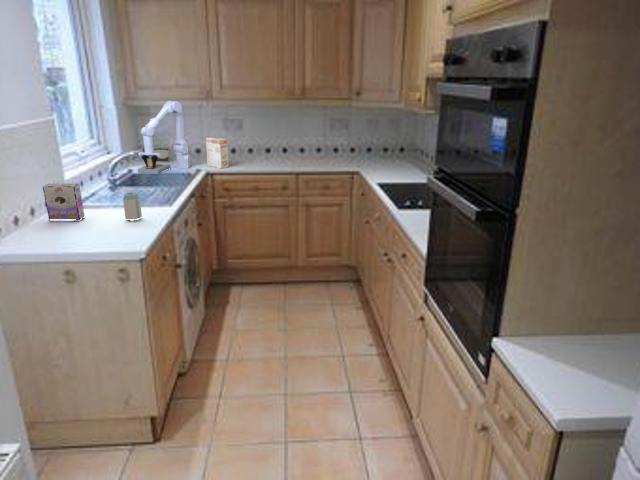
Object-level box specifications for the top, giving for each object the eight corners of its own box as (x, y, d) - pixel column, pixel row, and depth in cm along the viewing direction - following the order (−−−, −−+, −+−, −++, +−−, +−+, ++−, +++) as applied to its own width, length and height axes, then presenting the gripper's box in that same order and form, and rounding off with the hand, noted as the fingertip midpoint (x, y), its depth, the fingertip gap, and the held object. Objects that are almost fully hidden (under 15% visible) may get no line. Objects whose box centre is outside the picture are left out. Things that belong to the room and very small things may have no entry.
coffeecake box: (229, 167, 337) (227, 138, 330) (221, 168, 331) (219, 139, 325) (215, 164, 346) (213, 136, 339) (207, 165, 340) (205, 137, 334)
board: (170, 168, 330) (170, 164, 329) (158, 173, 314) (157, 169, 313) (151, 167, 332) (150, 163, 331) (138, 172, 315) (137, 169, 315)
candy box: (85, 218, 223) (80, 182, 217) (80, 222, 217) (74, 186, 212) (54, 218, 222) (48, 182, 217) (48, 221, 217) (41, 185, 211)
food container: (173, 160, 357) (172, 146, 354) (170, 162, 351) (169, 148, 348) (157, 160, 358) (156, 146, 355) (154, 161, 353) (152, 147, 349)
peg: (155, 171, 320) (154, 157, 317) (153, 172, 317) (151, 158, 314) (149, 171, 321) (148, 157, 318) (147, 172, 317) (145, 158, 314)
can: (122, 220, 220) (119, 194, 216) (135, 216, 226) (132, 191, 222) (132, 223, 217) (129, 196, 213) (145, 219, 222) (142, 193, 218)
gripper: (135, 146, 310) (137, 167, 315) (156, 147, 308) (158, 168, 313) (140, 145, 317) (142, 165, 321) (161, 145, 315) (163, 166, 319)
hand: (150, 167), depth 318 cm, fingers closed on peg, 4 cm apart
